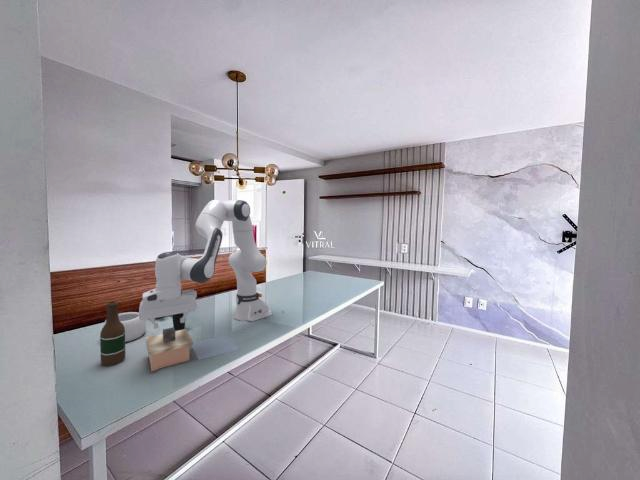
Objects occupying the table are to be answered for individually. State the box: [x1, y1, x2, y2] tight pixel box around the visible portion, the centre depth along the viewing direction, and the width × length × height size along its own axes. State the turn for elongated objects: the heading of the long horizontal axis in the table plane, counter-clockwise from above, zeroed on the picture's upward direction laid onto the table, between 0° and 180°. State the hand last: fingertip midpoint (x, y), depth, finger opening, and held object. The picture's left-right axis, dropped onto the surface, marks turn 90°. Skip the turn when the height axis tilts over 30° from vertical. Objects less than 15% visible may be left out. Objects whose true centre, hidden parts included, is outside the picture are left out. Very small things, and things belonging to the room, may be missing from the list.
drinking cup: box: [171, 313, 187, 331], centre depth 131 cm, size 8×8×20 cm
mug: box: [102, 311, 147, 343], centre depth 120 cm, size 21×17×10 cm
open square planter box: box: [148, 346, 190, 373], centre depth 105 cm, size 13×13×7 cm
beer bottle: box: [99, 301, 126, 367], centre depth 101 cm, size 8×8×24 cm
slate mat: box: [191, 334, 240, 361], centre depth 116 cm, size 17×17×1 cm
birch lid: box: [145, 327, 194, 357], centre depth 104 cm, size 15×15×5 cm
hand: (169, 325), depth 104 cm, fingers open, 8 cm apart
